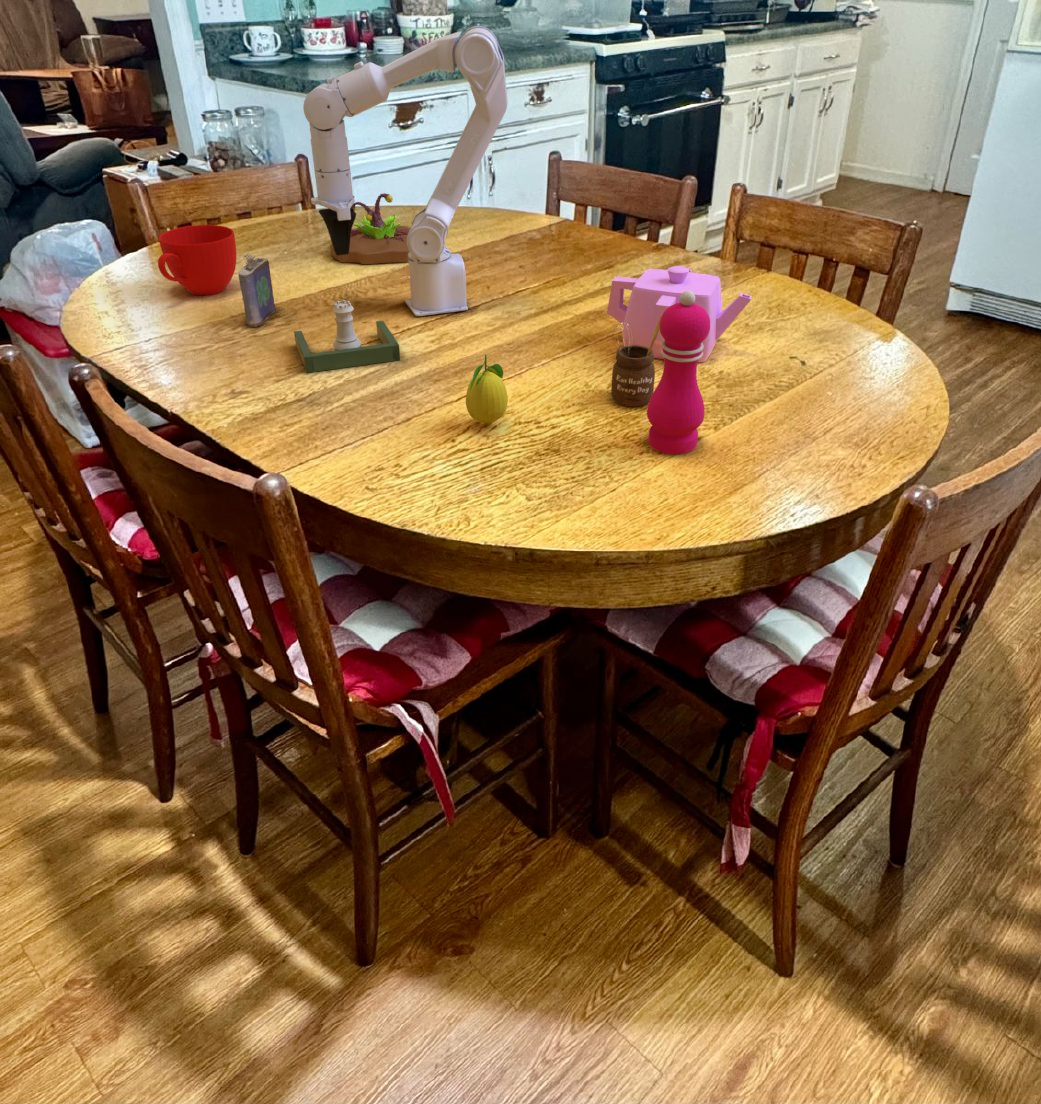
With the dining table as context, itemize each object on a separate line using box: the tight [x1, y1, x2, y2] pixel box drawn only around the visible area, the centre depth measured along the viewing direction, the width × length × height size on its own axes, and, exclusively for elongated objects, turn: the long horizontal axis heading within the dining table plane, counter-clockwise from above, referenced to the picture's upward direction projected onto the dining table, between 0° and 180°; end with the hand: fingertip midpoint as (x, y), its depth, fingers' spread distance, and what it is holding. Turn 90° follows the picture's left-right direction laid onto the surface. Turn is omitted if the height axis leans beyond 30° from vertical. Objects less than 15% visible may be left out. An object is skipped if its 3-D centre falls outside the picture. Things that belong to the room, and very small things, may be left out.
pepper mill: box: [646, 291, 710, 455], centre depth 111 cm, size 7×7×20 cm
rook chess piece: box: [331, 299, 362, 351], centre depth 139 cm, size 4×4×8 cm
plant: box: [329, 192, 412, 265], centre depth 183 cm, size 20×20×11 cm
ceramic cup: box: [157, 224, 237, 296], centre depth 162 cm, size 13×17×10 cm
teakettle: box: [606, 265, 753, 363], centre depth 140 cm, size 17×17×12 cm
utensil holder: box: [610, 315, 662, 407], centre depth 124 cm, size 6×6×12 cm
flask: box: [238, 253, 277, 328], centre depth 151 cm, size 9×3×11 cm, turn 172°
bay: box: [293, 320, 401, 374], centre depth 141 cm, size 14×11×2 cm
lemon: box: [465, 353, 509, 426], centre depth 118 cm, size 7×6×10 cm
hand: (341, 253), depth 153 cm, fingers closed
